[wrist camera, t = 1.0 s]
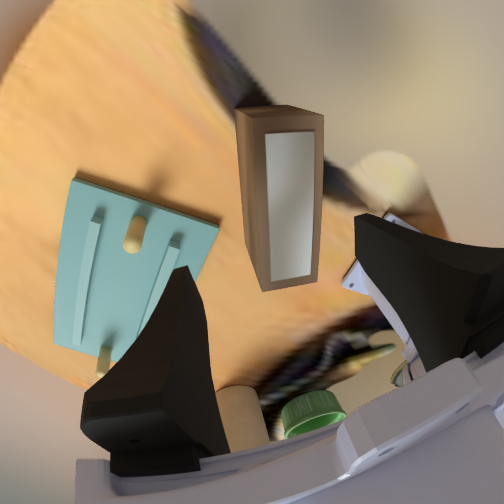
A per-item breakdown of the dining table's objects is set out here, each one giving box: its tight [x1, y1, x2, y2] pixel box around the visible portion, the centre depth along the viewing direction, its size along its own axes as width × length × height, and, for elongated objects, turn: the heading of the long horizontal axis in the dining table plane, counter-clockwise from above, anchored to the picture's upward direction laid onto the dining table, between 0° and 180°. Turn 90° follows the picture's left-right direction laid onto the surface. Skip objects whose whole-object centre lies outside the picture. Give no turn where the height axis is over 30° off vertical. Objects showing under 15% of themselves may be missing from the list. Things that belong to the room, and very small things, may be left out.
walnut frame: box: [234, 105, 324, 292], centre depth 18 cm, size 4×10×6 cm, turn 3°
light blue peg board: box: [54, 177, 219, 378], centre depth 22 cm, size 11×17×4 cm, turn 153°
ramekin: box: [281, 390, 347, 439], centre depth 37 cm, size 9×9×4 cm
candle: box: [215, 385, 270, 453], centre depth 30 cm, size 6×6×10 cm
